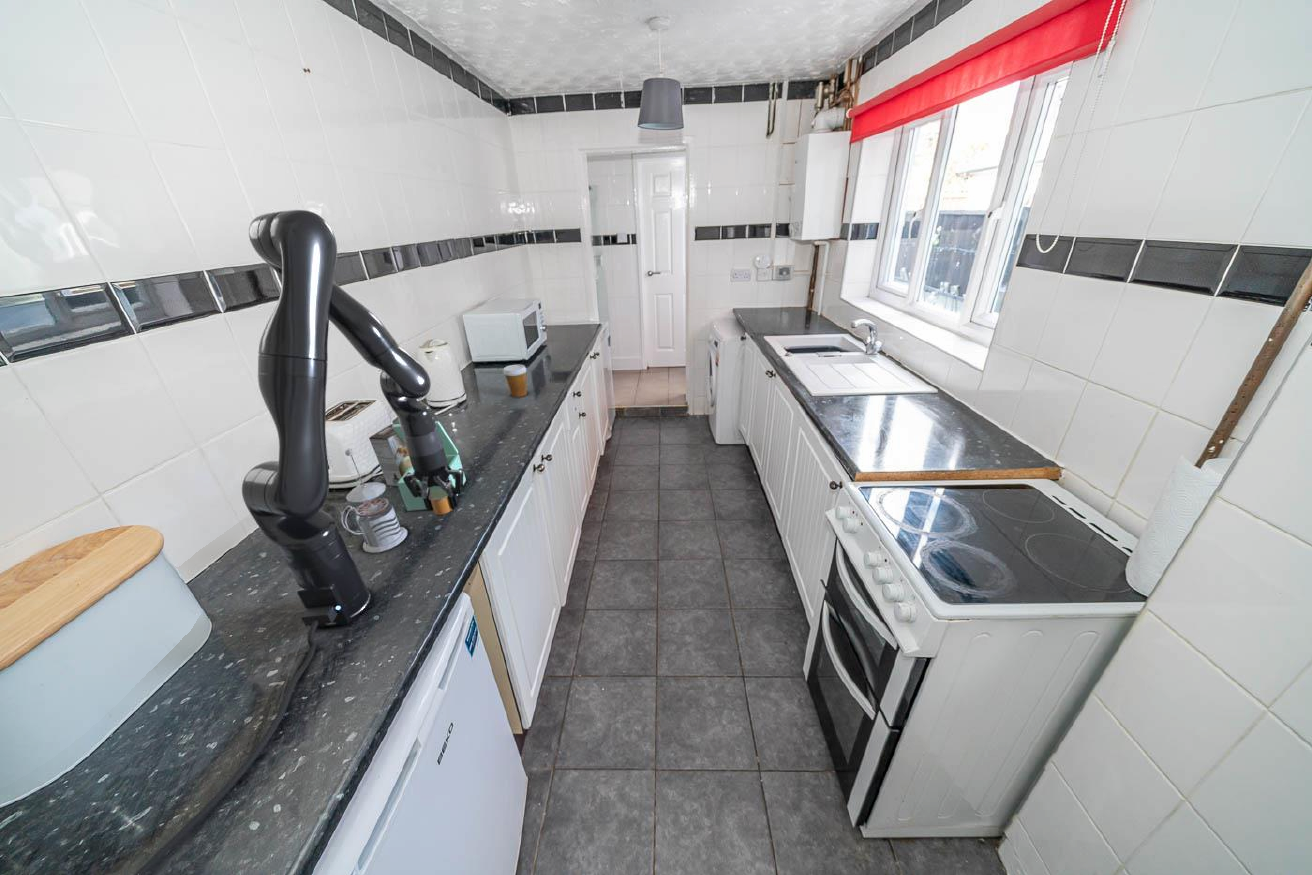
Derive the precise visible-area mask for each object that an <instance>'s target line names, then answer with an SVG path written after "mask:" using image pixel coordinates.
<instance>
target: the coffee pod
mask: <svg viewBox="0 0 1312 875" xmlns="http://www.w3.org/2000/svg"><path fill="white" fill-rule="evenodd" d="M448 497H449V495H448V494H447V493H446V492H445V491H443V490H442V489H439V490H436V491H434V492H432V493H431V494H429V496H428V498H429V500H430V501H431V504H432V508H433V513H434V515H446V514H448V513H450V512H451V511H452V510H453V509H452V508H451V505H450V502H449V498H448Z"/></svg>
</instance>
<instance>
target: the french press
mask: <svg viewBox="0 0 1312 875" xmlns="http://www.w3.org/2000/svg"><path fill="white" fill-rule="evenodd" d="M344 454H345V456H347V457H350V458H351V460H352V462H353V465H354V467H355V470H356V472H357V474H358V477H359V479H360V482H361V484H360V485H358V486H356V487H354V488H352V490H351V491H350V492H349V493H347V495H346V497H345V500H346V501H347V502H348V503H352V504H358V506H357V507H354V506H352V505H346V507H345V508H344V509H343V511H342V513H341V516H340V523H341V525H342V527H343V528H344V529H345V531H347V532H349V533H351V534H353V535H361V536H362V538H363V540H364V542H363V544H362V549H363V551H364V552H367V553H371V554H372V553H382V552H385V551H388V550H390V549H392V548H395V547H396V546H398V545H400V544H401V543H402V542H403V541H405V539H406V538H407V536H408V530H407V529H406V528H405V527H403V526H401V525H400V522H399V519H398V517H397V514H396V512H395V508H394V506H393V504H392V503H390V500H389V499H388V498H385V497H380V496H381V495H383V494H384V492H385V491H386V487H387V484H385V483H383V482H378V481H372V482H366V483H364V482H363V480H362V477H361V474H360V472H359V470H358V467H357V465H356V463H355V460H354V457H353V455H355V454H356V451H355V449H354V448H347V449H345V451H344ZM348 508H350V509H349V510H348V511H347V513H346V515H345V518H344V513H345V511H346V510H347V509H348ZM350 512H354V514H355V520H356V523H357V526H358V527H359V530H351V529H350V528H349V525H348V522H347V521H348V519H347V518H348V516H349V513H350ZM372 516H373V517H372ZM375 516H376V517H375ZM367 517H369V518H367ZM365 518H366V519H365ZM364 519H365V520H364ZM343 520H344V521H343ZM344 522H345V523H344Z"/></svg>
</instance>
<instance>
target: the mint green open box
mask: <svg viewBox="0 0 1312 875" xmlns="http://www.w3.org/2000/svg"><path fill="white" fill-rule="evenodd" d="M446 458H447V463H448V466H449V467H450V468H451V469H453V470H459V469H460V468H461V469H463V464H462V460H461V457H460V454H459V453H458V454H450V455H446ZM408 472H410V473H414V469H413V467H412V465H411V466H410V468H409V469H408V470H407V471H406V473H405V474H404V475H403V477H402V478H401V479H400V480H399V482H398V483H397V484H398V486H397V487H398V489H399V493H400V495H401V498H402V500H403V503H404V506H405V509H406V511H407V512H410V511H411V512H413V511H420V510H422V511H423V510H428V509H427V508H426V506H425V503H424V500H423V499H422V498H421V497H414V496H413V495H412V493H411V492H410V490H409V489H408V487H407V485H406V484H405V482H404V481H403V478H404V477H405V475H406V474H407V473H408ZM449 478H450V479H451V481H452V484H453V485H454V487H455V479H453V476H452V475H451V474H450V475H449ZM416 481H417V483H418V484H419V486H420V488H421V489H422V482H420V481H419V480H418V479H417V478H416ZM466 481H467V479H466V475H465V471H464V469H463V486H464V485H465V483H466ZM439 489H442V488H441V487H440V486H439V487H438V486H433V487H431V489H430V494H431V493H432V492H434V491H436V490H439ZM458 496H459V494H457V497H458Z"/></svg>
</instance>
